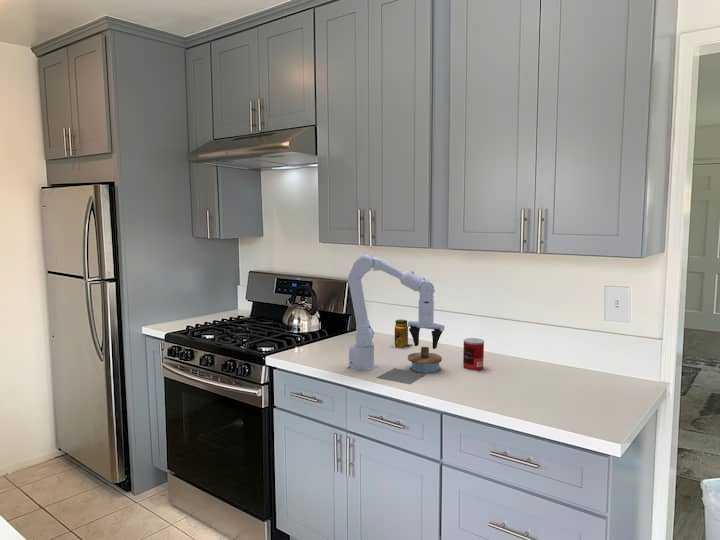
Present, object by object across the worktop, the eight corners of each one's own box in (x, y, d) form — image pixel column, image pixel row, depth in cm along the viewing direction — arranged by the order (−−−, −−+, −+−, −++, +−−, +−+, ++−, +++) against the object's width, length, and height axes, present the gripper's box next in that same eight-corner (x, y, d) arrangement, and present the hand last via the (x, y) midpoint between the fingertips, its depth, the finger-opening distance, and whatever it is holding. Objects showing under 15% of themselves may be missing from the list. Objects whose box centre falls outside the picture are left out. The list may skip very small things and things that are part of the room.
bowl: (407, 370, 210) (407, 360, 209) (419, 363, 219) (419, 354, 218) (431, 374, 204) (432, 364, 204) (443, 367, 213) (443, 357, 213)
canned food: (483, 365, 216) (484, 338, 215) (482, 371, 208) (483, 343, 207) (464, 364, 218) (464, 337, 217) (462, 370, 210) (462, 342, 209)
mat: (375, 378, 200) (375, 377, 200) (394, 369, 211) (394, 368, 211) (410, 385, 192) (410, 384, 192) (427, 375, 204) (427, 374, 204)
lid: (401, 360, 209) (401, 349, 208) (417, 353, 219) (417, 342, 219) (433, 366, 202) (433, 353, 201) (447, 357, 213) (447, 346, 212)
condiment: (391, 347, 245) (391, 321, 244) (398, 343, 252) (398, 317, 251) (406, 349, 242) (406, 322, 240) (413, 345, 249) (413, 319, 248)
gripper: (404, 311, 210) (403, 346, 211) (439, 315, 202) (438, 351, 203) (412, 309, 215) (412, 342, 217) (446, 312, 208) (446, 347, 209)
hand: (425, 347), depth 211 cm, fingers open, 7 cm apart
